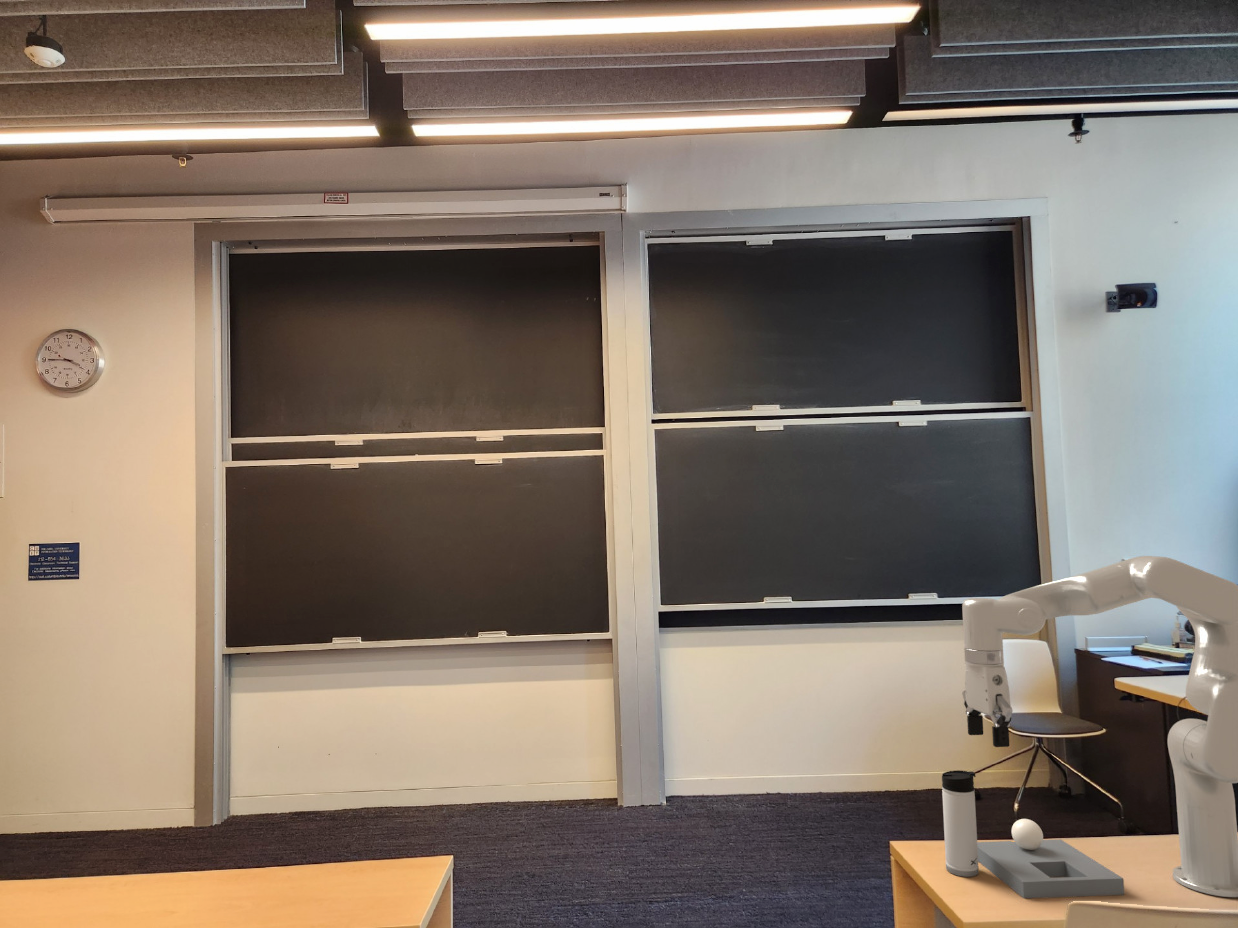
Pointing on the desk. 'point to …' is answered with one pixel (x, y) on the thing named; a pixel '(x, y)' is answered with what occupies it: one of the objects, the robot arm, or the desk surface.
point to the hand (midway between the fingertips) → (988, 740)
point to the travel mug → (960, 823)
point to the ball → (1027, 834)
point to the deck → (1048, 870)
